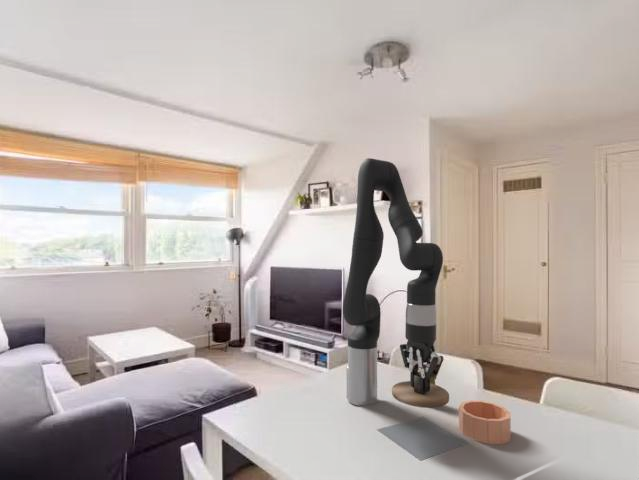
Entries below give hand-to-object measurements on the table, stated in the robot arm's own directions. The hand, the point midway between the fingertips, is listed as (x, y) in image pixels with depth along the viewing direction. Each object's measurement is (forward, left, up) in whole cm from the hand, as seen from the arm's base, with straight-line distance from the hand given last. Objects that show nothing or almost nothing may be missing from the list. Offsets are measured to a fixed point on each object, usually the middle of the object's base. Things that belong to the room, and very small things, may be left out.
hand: (419, 388), depth 94 cm
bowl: (+6, +16, -12) cm, 21 cm away
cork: (-14, +16, -12) cm, 25 cm away
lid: (0, 0, -2) cm, 2 cm away
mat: (0, 0, -12) cm, 12 cm away
